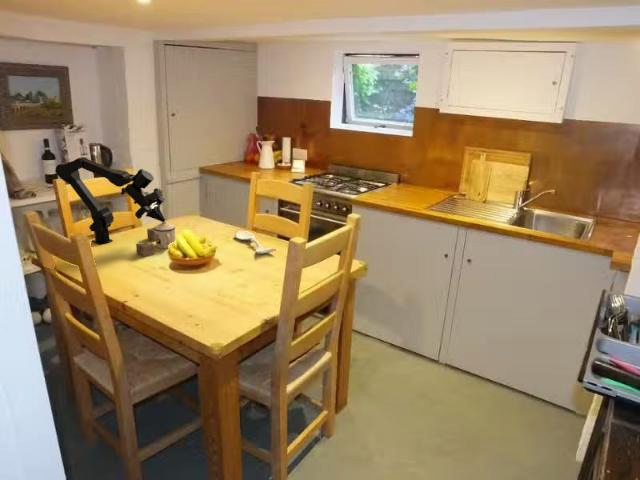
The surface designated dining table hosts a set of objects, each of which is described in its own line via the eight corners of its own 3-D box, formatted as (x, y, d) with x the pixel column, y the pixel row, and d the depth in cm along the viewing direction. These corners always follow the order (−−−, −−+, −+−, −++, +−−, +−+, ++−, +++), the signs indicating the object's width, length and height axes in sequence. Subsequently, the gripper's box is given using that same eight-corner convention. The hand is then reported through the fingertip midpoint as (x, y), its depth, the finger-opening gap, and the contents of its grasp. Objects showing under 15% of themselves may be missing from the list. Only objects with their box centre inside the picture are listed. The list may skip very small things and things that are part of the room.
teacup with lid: (153, 243, 212) (151, 219, 208) (173, 241, 216) (172, 217, 212) (159, 252, 202) (157, 227, 198) (180, 249, 206) (178, 224, 203)
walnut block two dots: (137, 255, 198) (135, 243, 197) (146, 251, 202) (145, 240, 201) (144, 257, 196) (143, 246, 194) (154, 254, 200) (153, 243, 198)
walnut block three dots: (147, 239, 217) (146, 228, 216) (156, 236, 221) (155, 226, 220) (154, 241, 215) (154, 231, 213) (163, 238, 219) (162, 228, 217)
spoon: (258, 259, 201) (258, 251, 199) (232, 236, 226) (231, 230, 225) (276, 255, 205) (277, 248, 204) (249, 234, 231) (249, 227, 230)
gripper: (139, 188, 191) (167, 215, 194) (159, 179, 209) (184, 204, 211) (123, 205, 194) (150, 232, 197) (144, 194, 212) (168, 219, 215)
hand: (164, 221), depth 205 cm, fingers closed
